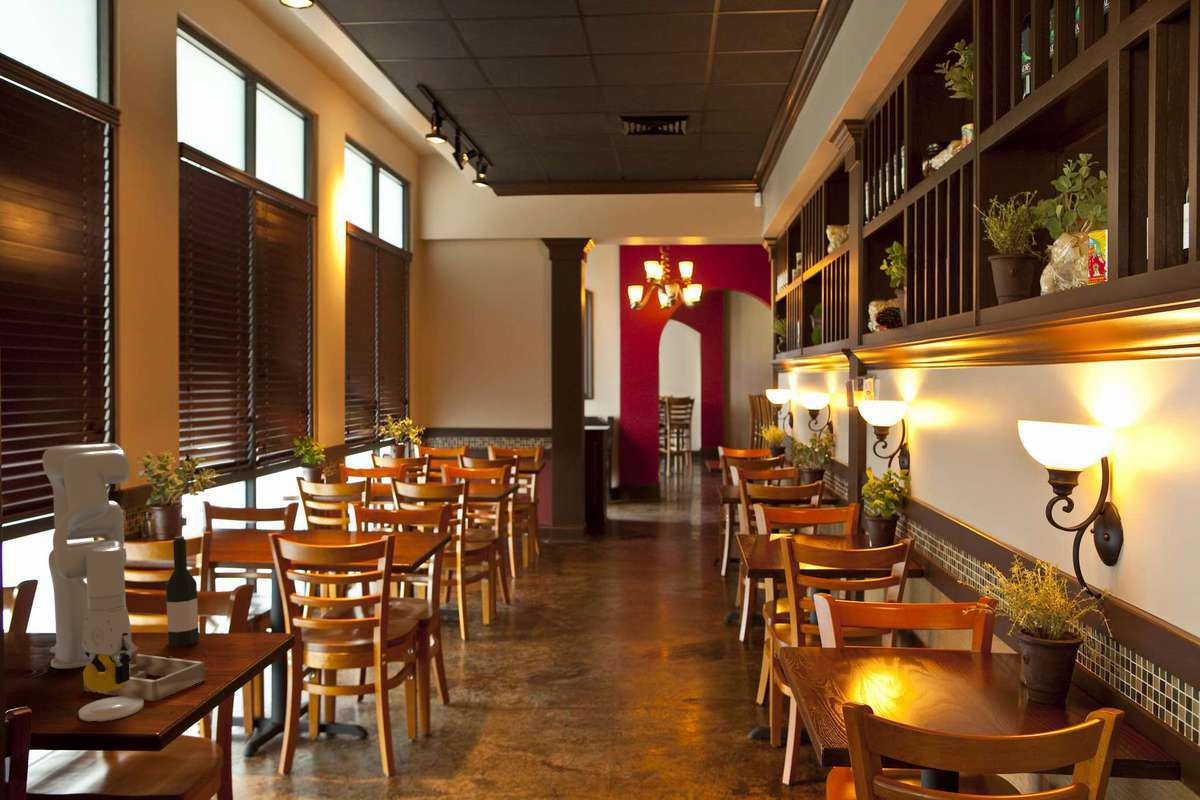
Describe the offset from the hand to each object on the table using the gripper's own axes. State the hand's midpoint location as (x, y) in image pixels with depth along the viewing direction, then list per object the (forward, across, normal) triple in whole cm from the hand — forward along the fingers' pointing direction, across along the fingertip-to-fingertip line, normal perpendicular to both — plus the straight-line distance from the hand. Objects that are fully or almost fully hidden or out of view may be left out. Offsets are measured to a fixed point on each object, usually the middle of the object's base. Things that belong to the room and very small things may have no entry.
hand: (110, 679), depth 207 cm
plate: (+7, 0, 0) cm, 7 cm away
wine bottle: (+7, -26, +46) cm, 53 cm away
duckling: (+2, 0, 0) cm, 2 cm away
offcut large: (+8, -14, +15) cm, 21 cm away
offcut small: (+5, -14, +15) cm, 21 cm away
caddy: (+7, -6, +15) cm, 18 cm away
